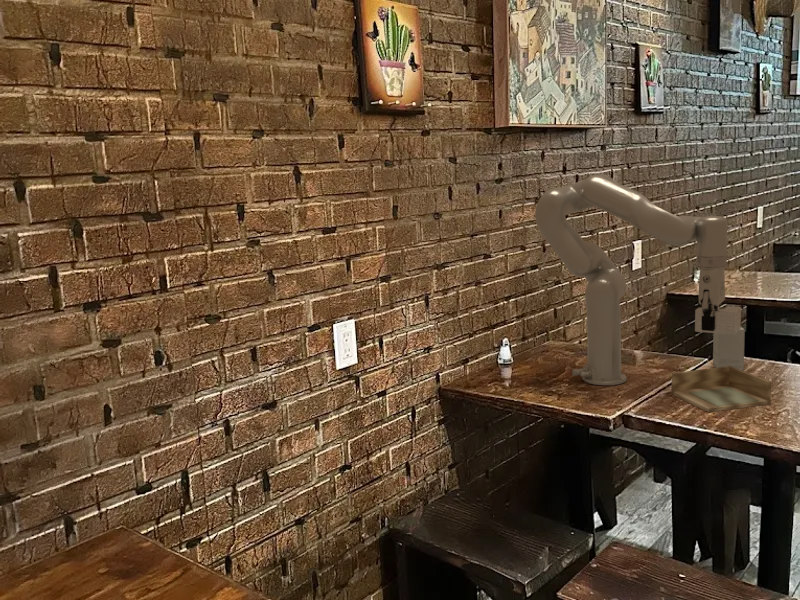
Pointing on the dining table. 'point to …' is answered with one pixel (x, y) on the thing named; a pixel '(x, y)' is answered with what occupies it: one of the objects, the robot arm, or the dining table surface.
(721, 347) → the supplement box
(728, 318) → the bracket
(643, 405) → the dining table surface
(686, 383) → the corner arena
